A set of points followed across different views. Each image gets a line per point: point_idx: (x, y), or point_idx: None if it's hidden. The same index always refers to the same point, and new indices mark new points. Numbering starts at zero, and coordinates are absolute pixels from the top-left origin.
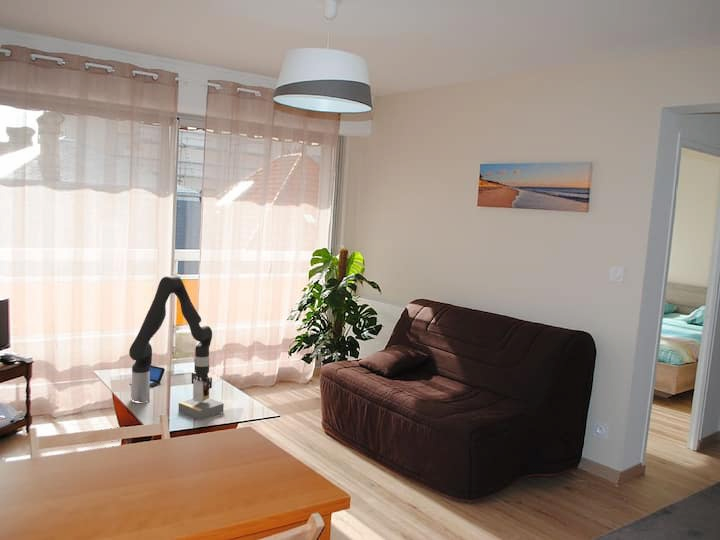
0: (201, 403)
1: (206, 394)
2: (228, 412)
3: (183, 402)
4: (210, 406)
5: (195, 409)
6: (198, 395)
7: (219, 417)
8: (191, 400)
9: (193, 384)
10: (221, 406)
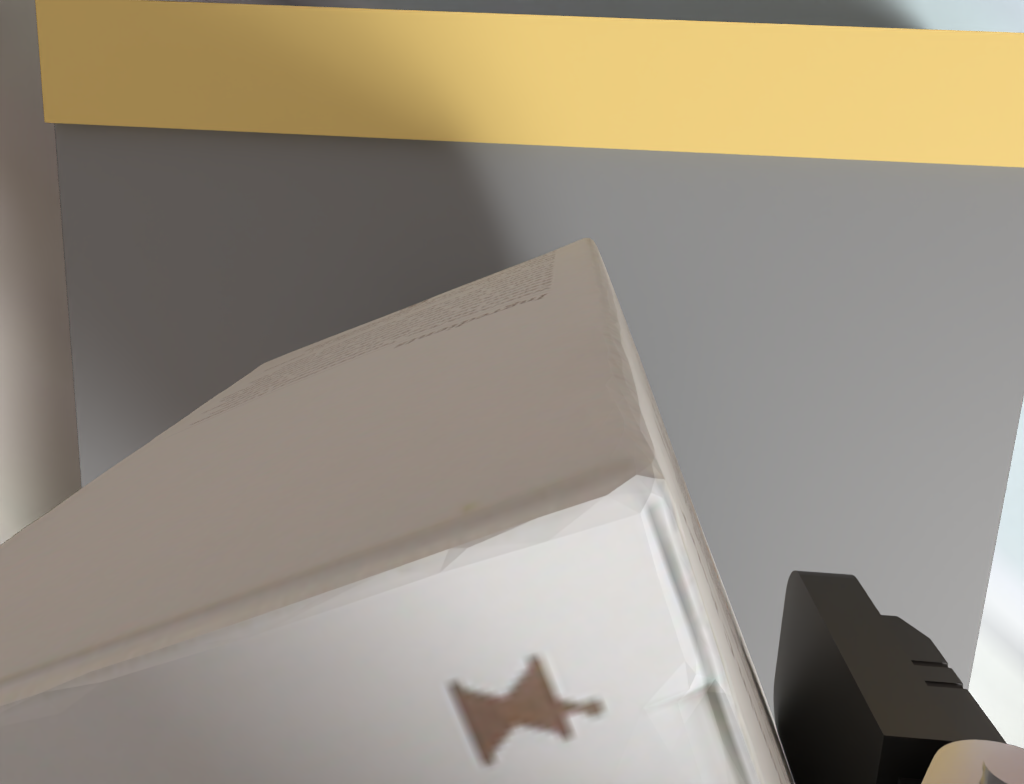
0: None
1: None
2: None
3: (963, 146)
4: None
5: (226, 7)
6: (339, 348)
7: (40, 455)
8: (917, 458)
9: (602, 384)
10: None
